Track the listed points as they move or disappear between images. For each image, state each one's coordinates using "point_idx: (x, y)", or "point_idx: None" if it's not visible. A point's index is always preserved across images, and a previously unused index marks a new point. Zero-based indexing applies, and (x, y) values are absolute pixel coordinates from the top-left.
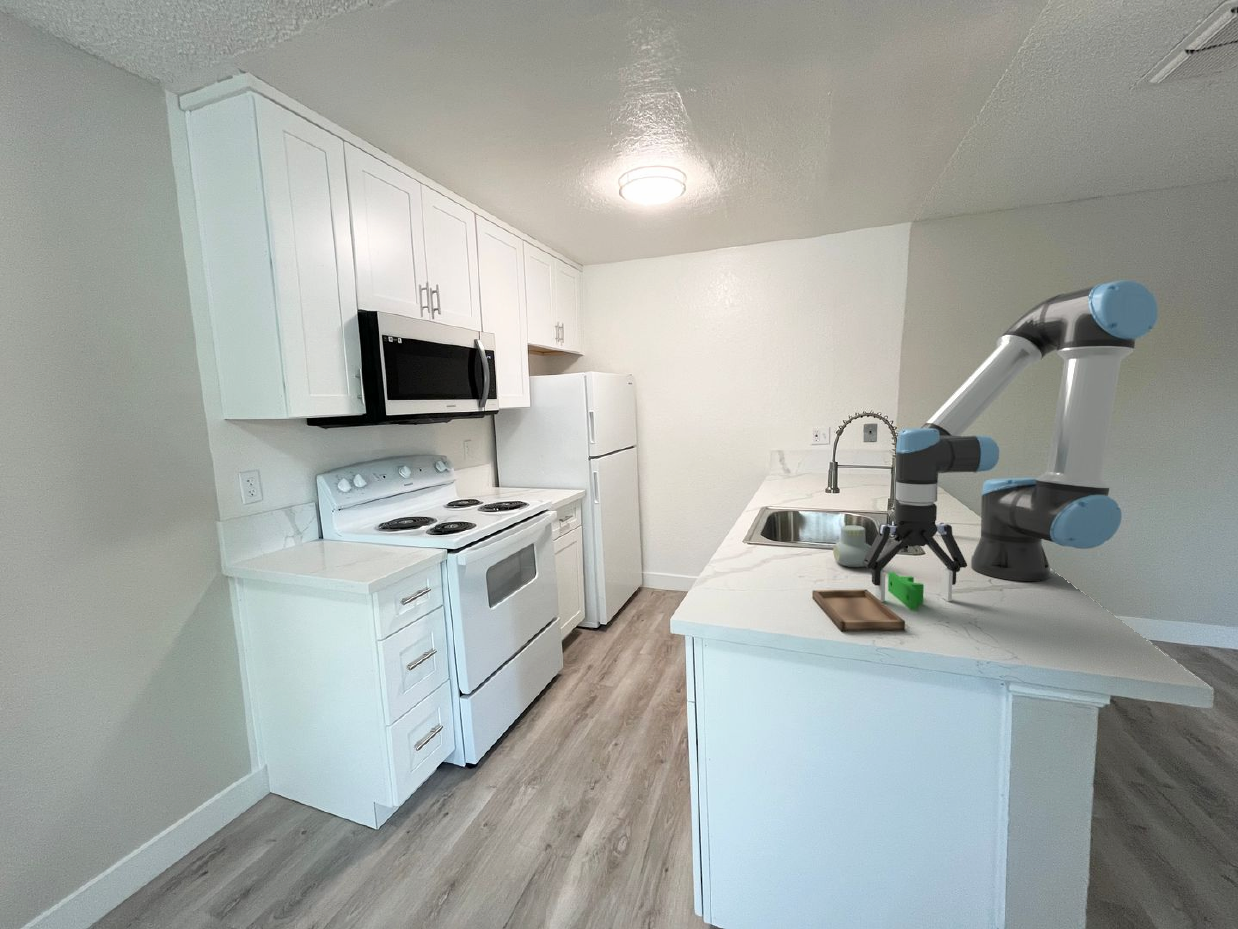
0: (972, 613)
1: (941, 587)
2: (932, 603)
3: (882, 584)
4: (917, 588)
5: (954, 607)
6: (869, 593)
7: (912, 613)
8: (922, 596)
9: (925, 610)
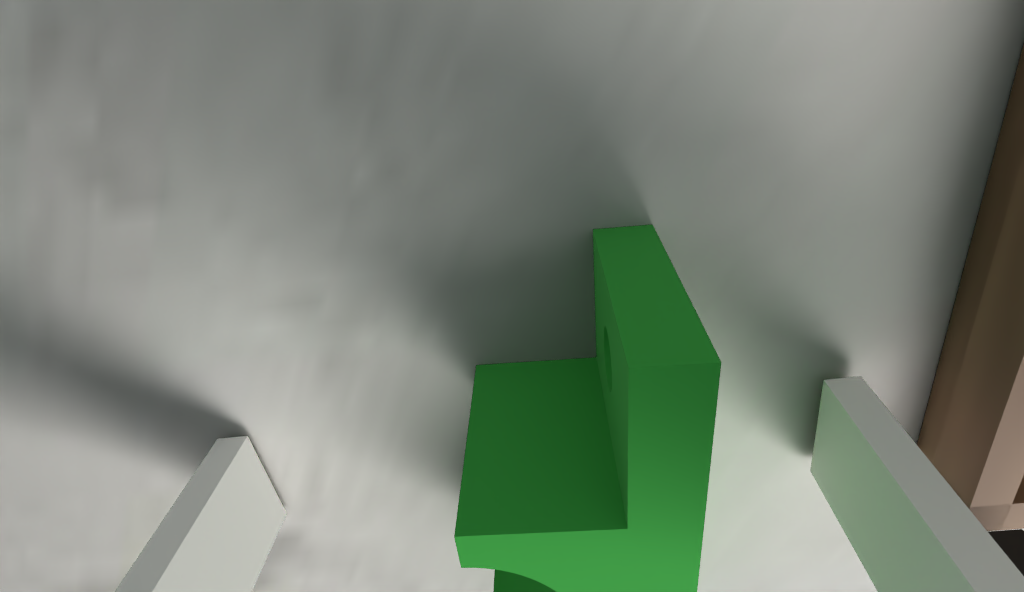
0: (66, 202)
1: (247, 585)
2: (385, 396)
3: (972, 533)
4: (532, 490)
5: (214, 329)
6: (1010, 450)
7: (678, 135)
8: (477, 422)
9: (504, 233)
